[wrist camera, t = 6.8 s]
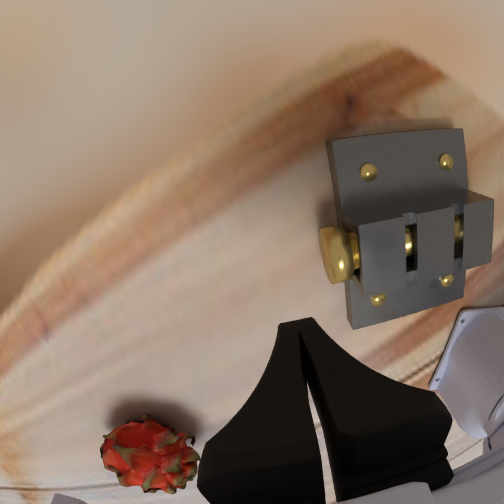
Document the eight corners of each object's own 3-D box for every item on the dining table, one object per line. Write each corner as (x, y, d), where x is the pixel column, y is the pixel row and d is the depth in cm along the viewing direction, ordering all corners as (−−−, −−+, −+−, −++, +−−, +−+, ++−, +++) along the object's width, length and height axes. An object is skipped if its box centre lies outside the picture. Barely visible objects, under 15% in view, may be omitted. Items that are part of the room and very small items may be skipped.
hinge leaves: (454, 289, 23) (482, 315, 18) (347, 319, 23) (365, 354, 19) (451, 128, 18) (489, 130, 14) (325, 140, 19) (346, 141, 14)
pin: (460, 238, 20) (487, 254, 17) (323, 270, 21) (336, 294, 18) (460, 195, 19) (489, 205, 16) (316, 222, 20) (329, 238, 16)
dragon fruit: (216, 417, 29) (125, 415, 32) (174, 412, 22) (74, 405, 25) (220, 493, 24) (126, 480, 27) (179, 509, 18) (75, 483, 20)
